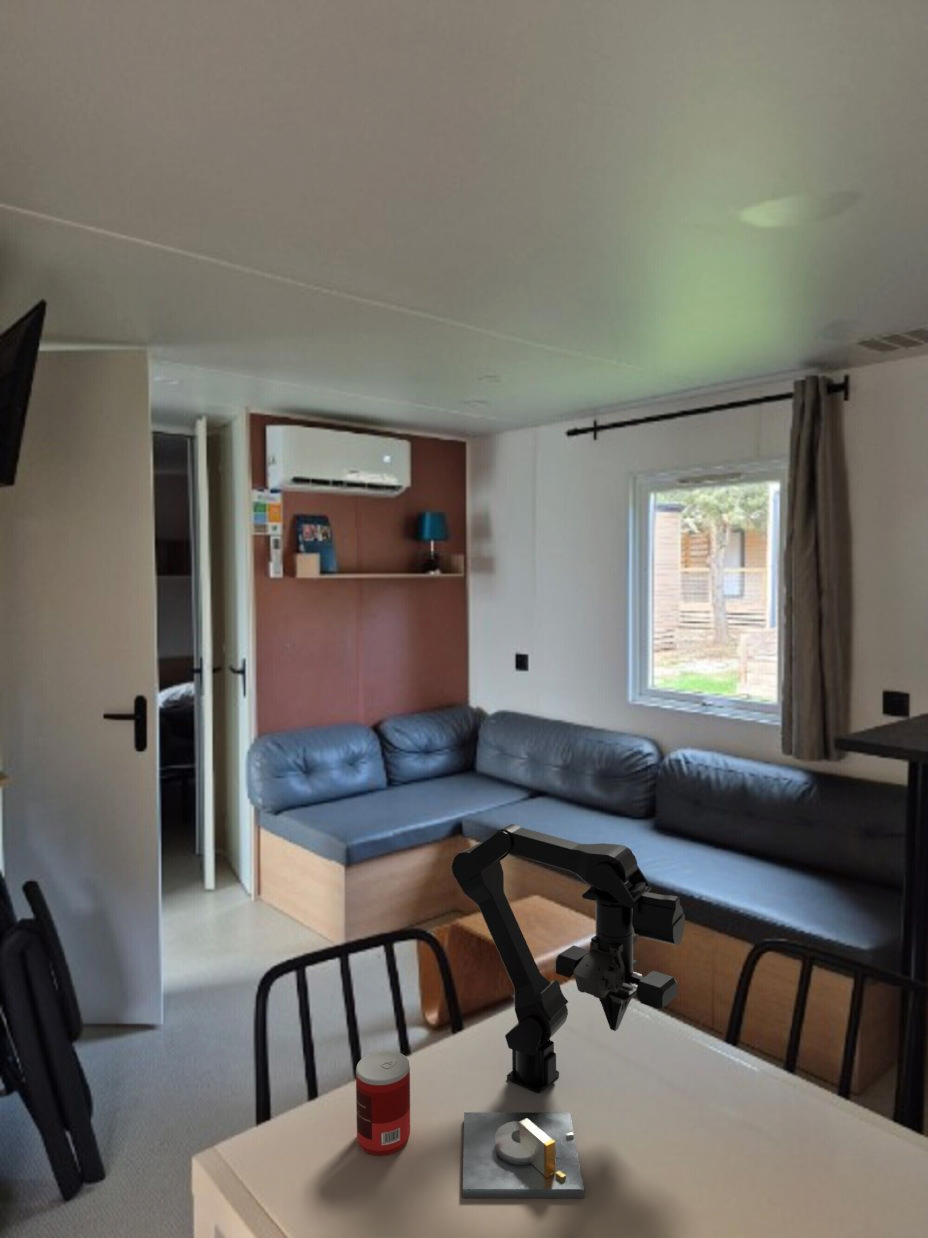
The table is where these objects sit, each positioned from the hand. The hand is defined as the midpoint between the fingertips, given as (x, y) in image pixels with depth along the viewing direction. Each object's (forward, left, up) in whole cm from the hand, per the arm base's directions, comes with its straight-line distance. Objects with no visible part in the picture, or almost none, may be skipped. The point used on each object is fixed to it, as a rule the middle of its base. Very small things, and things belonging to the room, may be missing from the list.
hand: (614, 1029), depth 127 cm
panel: (-5, -19, -12) cm, 23 cm away
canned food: (-23, -28, -12) cm, 38 cm away
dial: (-4, -19, -11) cm, 22 cm away
